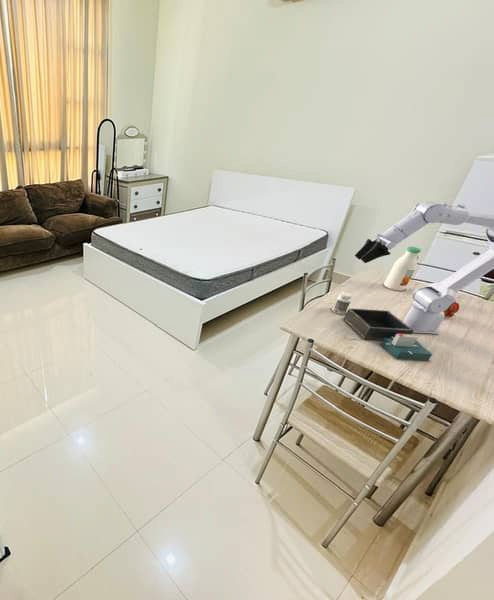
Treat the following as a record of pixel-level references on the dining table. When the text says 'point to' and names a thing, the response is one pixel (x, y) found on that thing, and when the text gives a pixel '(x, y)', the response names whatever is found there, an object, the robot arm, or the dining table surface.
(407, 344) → the white rectangular block
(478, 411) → the dining table surface
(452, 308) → the dragon fruit
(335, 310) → the pill bottle
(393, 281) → the milk bottle
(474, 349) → the dining table surface
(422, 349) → the teal flat box
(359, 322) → the dark open box
